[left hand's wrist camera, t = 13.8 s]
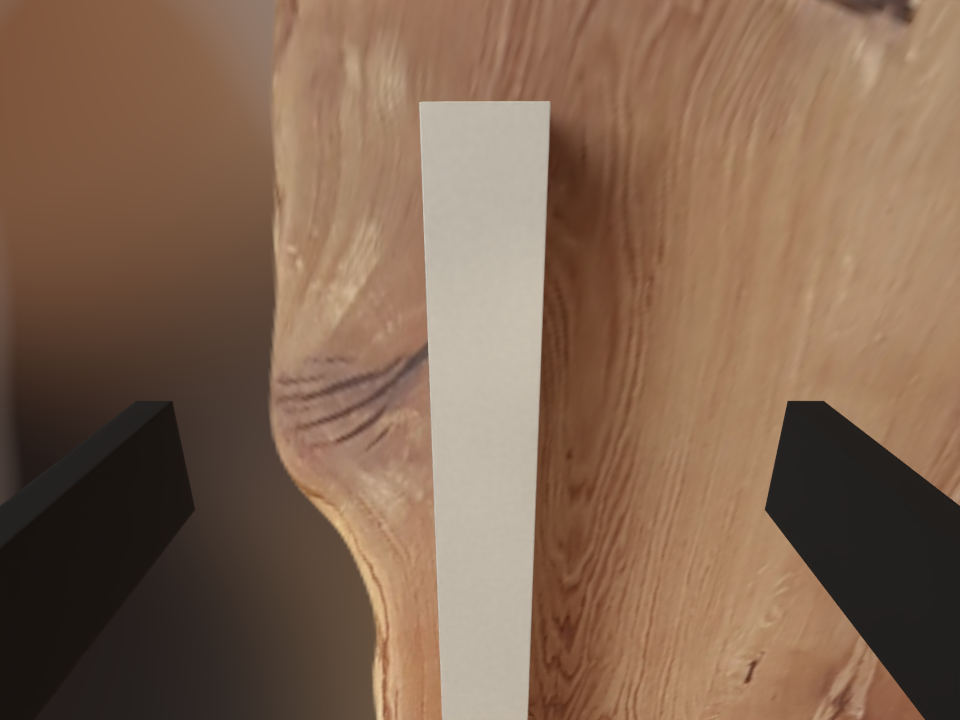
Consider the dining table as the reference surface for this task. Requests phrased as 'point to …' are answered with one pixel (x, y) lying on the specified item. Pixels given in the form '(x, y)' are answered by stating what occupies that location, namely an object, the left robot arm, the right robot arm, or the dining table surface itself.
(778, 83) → the dining table surface
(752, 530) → the dining table surface
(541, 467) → the dining table surface
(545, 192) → the beam
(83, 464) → the left robot arm
